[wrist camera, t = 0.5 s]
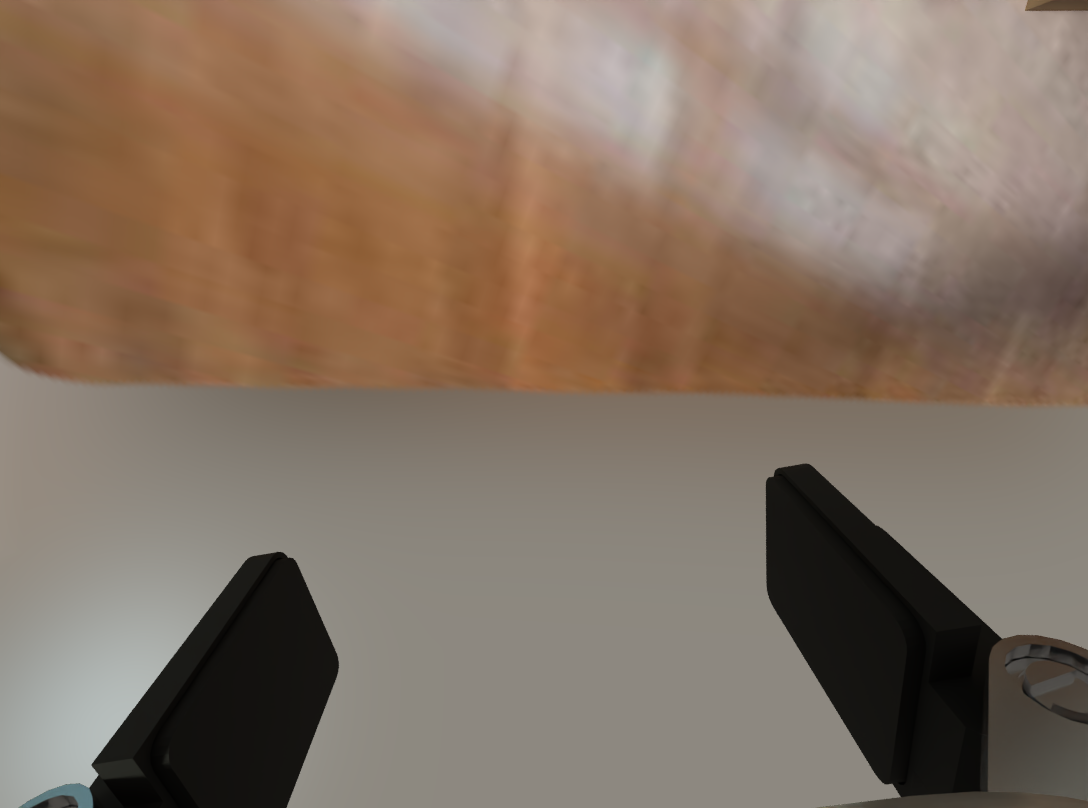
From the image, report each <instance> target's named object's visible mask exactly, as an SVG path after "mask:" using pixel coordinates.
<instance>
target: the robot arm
mask: <svg viewBox="0 0 1088 808" xmlns="http://www.w3.org/2000/svg"><path fill="white" fill-rule="evenodd" d="M766 563H767V564H766V569H767V571H766V575H767V591H768V595H769V599H770V601H771V603H772V605H773V607H774V609H775V611H776V612H777V614H778V615H779V617H780V619H781V620H782V622H783V624H784V625H785V627H786V629H787V630H788V632H789V633H790V635H791V637H792V638H793V640H794V642H795V643H796V645H797V647H798V648H799V650H800V651H801V653H802V655H803V656H804V658H805V660H806V661H807V663H808V665H809V666H810V668H811V670H812V671H813V673H814V674H815V676H816V678H817V679H818V681H819V683H820V684H821V686H822V687H823V689H824V691H825V692H826V694H827V696H828V697H829V699H830V701H831V702H832V704H833V705H834V707H835V709H836V711H837V712H838V714H839V715H840V717H841V719H842V720H843V722H844V724H845V725H846V727H847V729H848V730H849V732H850V733H851V735H852V737H853V738H854V740H855V742H856V743H857V745H858V746H859V748H860V750H861V751H862V753H863V755H864V756H865V758H866V760H867V761H868V763H869V764H870V766H871V768H872V769H873V771H874V773H875V774H876V775H877V777H878V778H879V779H880V780H881V781H882V783H884V784H893V785H894V787H895V788H896V790H897V791H898V793H899V795H900V796H901V797H899V798H892V799H884V800H875V801H868V802H859V803H851V804H843V805H834V806H826V807H819V808H1088V650H1086V649H1084V648H1082V647H1079V646H1076V645H1073V644H1070V643H1068V642H1065V641H1062V640H1058V639H1053V638H1048V637H1043V636H1038V635H1016V636H1012V637H1008V638H1004V639H1002V638H1001V637H999V636H998V635H997V634H996V633H995V632H994V631H993V630H992V629H991V628H990V627H989V626H988V625H986V624H985V623H984V622H983V621H982V620H981V619H980V618H979V617H978V616H977V615H976V614H975V613H973V612H972V611H971V610H970V609H969V608H968V607H967V606H966V605H965V604H964V603H963V602H961V601H960V600H959V599H958V598H957V597H956V596H955V595H954V594H953V593H952V592H951V591H950V590H948V588H946V587H945V586H944V585H943V584H942V583H941V582H940V581H939V580H938V579H937V578H936V577H935V576H933V575H932V574H931V573H930V572H929V571H928V570H927V569H926V568H925V567H924V566H923V565H921V564H920V563H919V562H918V561H917V560H916V559H915V558H914V557H913V556H912V555H911V554H910V553H909V552H907V551H906V550H905V549H904V548H903V547H902V546H901V545H900V544H899V543H898V542H897V541H896V540H894V539H893V538H892V537H891V536H890V535H889V534H888V533H887V532H886V531H884V530H883V529H882V528H880V527H879V526H875V524H873V523H872V522H871V521H870V520H869V519H868V518H867V517H866V516H865V515H864V514H863V513H861V512H860V510H858V509H857V508H856V507H855V506H854V505H853V504H852V503H851V502H850V501H849V500H848V499H847V498H846V497H845V496H844V495H842V494H841V493H840V492H839V491H838V490H837V489H836V488H835V487H834V486H833V485H831V483H829V481H827V480H826V479H825V478H824V477H823V476H822V475H821V474H820V473H819V472H818V471H817V470H816V469H815V468H814V467H812V466H811V465H810V464H800V465H795V466H788V467H783V468H778V469H776V470H775V473H774V477H769V478H768V479H767V481H766ZM338 668H339V661H338V656H337V653H336V651H335V649H334V647H333V645H332V642H331V640H330V637H329V635H328V633H327V631H326V628H325V626H324V624H323V621H322V619H321V617H320V615H319V613H318V610H317V608H316V605H315V603H314V601H313V599H312V596H311V594H310V592H309V590H308V587H307V585H306V583H305V580H304V578H303V576H302V574H301V571H300V569H299V567H298V565H297V563H296V561H295V560H294V559H293V558H288V557H287V556H286V555H285V554H284V553H282V552H276V553H270V554H264V555H258V556H252V557H250V558H248V559H247V560H246V561H245V562H244V564H243V565H242V566H241V568H240V569H239V570H238V572H237V573H236V574H235V576H234V577H233V578H232V579H231V581H230V582H229V583H228V585H227V586H226V587H225V589H224V590H223V591H222V593H221V594H220V595H219V597H218V598H217V599H216V601H215V602H214V603H213V605H212V606H211V607H210V609H209V610H208V611H207V613H206V614H205V615H204V616H203V618H202V619H201V620H200V622H199V623H198V625H197V626H196V627H195V628H194V630H193V631H192V632H191V634H190V635H189V636H188V638H187V639H186V641H185V642H184V643H183V644H182V646H181V647H180V648H179V650H178V651H177V652H176V654H175V655H174V656H173V658H172V659H171V660H170V661H169V663H168V664H167V665H166V667H165V668H164V669H163V671H162V672H161V673H160V675H159V676H158V677H157V679H156V680H155V681H154V683H153V684H152V685H151V687H150V688H149V689H148V691H147V692H146V693H145V694H144V696H143V697H142V698H141V700H140V701H139V702H138V704H137V705H136V706H135V708H134V709H133V710H132V712H131V713H130V714H129V716H128V717H127V718H126V720H125V721H124V722H123V724H122V725H121V726H120V728H119V729H118V730H117V731H116V733H115V734H114V735H113V737H112V738H111V739H110V741H109V742H108V743H107V745H106V746H105V747H104V749H103V750H102V751H101V753H100V754H99V755H98V757H97V758H96V759H95V761H94V762H93V763H92V767H93V768H94V769H95V770H96V772H97V773H98V774H99V775H98V777H97V778H96V779H95V781H94V782H93V784H92V785H91V786H90V788H88V787H86V786H84V785H82V784H80V783H79V784H66V785H63V786H60V787H57V788H54V789H51V790H48V791H46V792H44V793H43V794H41V795H39V796H37V797H35V798H33V799H31V800H30V801H28V802H26V803H25V804H23V805H22V806H21V807H19V808H286V807H287V805H288V802H289V800H290V797H291V794H292V792H293V789H294V787H295V784H296V781H297V779H298V776H299V774H300V771H301V768H302V766H303V763H304V760H305V758H306V755H307V753H308V750H309V748H310V745H311V742H312V740H313V737H314V735H315V732H316V729H317V727H318V724H319V721H320V719H321V716H322V714H323V711H324V709H325V706H326V703H327V701H328V698H329V695H330V693H331V690H332V688H333V685H334V683H335V680H336V677H337V674H338Z"/></svg>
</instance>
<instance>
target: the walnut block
mask: <svg viewBox="0 0 1088 808" xmlns="http://www.w3.org/2000/svg"><path fill="white" fill-rule="evenodd" d="M1025 11H1088V0H1028V2H1027V5H1026V9H1025Z"/></svg>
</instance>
